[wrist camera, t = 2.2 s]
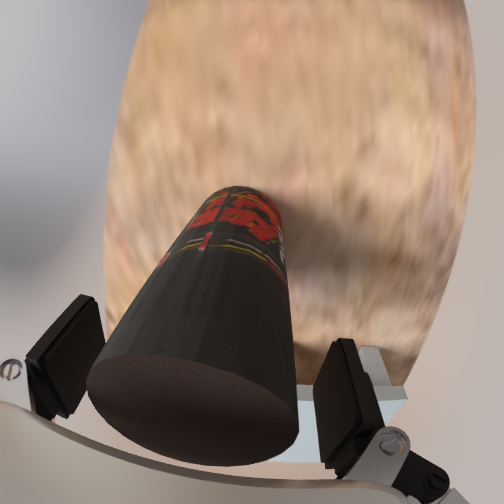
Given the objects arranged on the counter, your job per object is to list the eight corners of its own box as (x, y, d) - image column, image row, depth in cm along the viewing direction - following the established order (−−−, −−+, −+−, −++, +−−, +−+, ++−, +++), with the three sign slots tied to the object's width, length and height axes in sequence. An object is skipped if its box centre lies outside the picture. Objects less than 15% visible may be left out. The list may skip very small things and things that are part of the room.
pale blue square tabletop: (261, 331, 24) (257, 396, 18) (385, 342, 24) (407, 399, 18) (243, 406, 29) (239, 458, 23) (342, 412, 29) (350, 460, 23)
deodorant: (296, 240, 20) (333, 445, 7) (227, 278, 22) (183, 471, 8) (251, 169, 18) (201, 313, 5) (180, 215, 20) (54, 380, 6)
